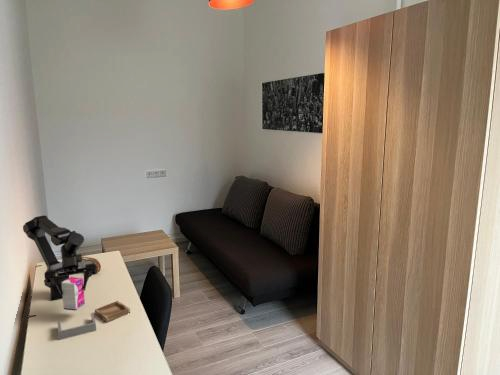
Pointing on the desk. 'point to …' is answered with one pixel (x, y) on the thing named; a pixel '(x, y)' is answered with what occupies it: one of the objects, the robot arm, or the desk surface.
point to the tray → (112, 311)
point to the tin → (88, 261)
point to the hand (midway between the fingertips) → (73, 292)
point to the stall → (76, 329)
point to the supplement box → (73, 293)
